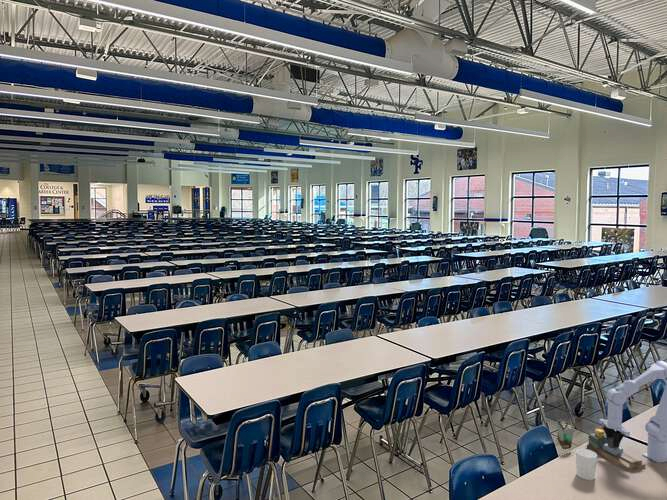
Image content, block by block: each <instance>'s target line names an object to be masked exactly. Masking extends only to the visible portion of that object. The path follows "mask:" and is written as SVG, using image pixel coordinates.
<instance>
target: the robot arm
mask: <svg viewBox="0 0 667 500" xmlns="http://www.w3.org/2000/svg"><path fill="white" fill-rule="evenodd" d="M654 379H655V380H656V379H658V380H663V382H665V386H664V389H663V392H662V396H661V397H660V400H659V402H658V403H659V404H658V407H657V408H656V411H655V415H653V416H651V417H650V418H649V420H648V421H647V423H645V426H644V427H645V428H644V429H645V431H646V433H647V449H646V450H647V452H644V453H642V456H644V457H646V458H648V459H650V460H652V461H654V462H656V463H657V464H658V463H659V464H661V463H665V462H666V463H667V362H666V361H664V360H658V361H655V363H653V364H651V365H650V368H648V369H647V370H645V371H644V372H643V373H641V374H640V375H639V376H637V377H636V378H635V379H627V380H624V381H623V382H622V383H621V384H620V385H618V386H615V388H610V389H609V390H607V392H606V393H605V398H607V418H606V419H604V418H600V419H599V424H600V425H604V426H603V427H602V430H604V432H605V434H606V437H607V441H608V437H614V447H620V445H621V442H622V440H623V438H625V437H629V436H631V431H629V430H628V429H626V428H625V427H624V426H622V423H623V408H624V407H623V405H624V404H625V403H626V402H627V399H628V398H629V397H630V396H633V395H634V394H636V393H637V392H639V389H640V387H642V386H643V385H645V384H647V383H649V382H652V381H653V380H654Z"/></svg>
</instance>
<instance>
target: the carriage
mask: <svg viewBox="0 0 667 500" xmlns="http://www.w3.org/2000/svg"><path fill="white" fill-rule="evenodd" d="M603 449H604V450H606V451H608V452H609V453H611V454H613V455H615V456H617V454H621V455H622V453H624V448H623V447H621V446H619V447H614V437H608V444H604V446H603Z"/></svg>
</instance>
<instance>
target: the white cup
mask: <svg viewBox="0 0 667 500" xmlns="http://www.w3.org/2000/svg"><path fill="white" fill-rule="evenodd" d="M597 459H598V454H597V453H595V452H593V451H592V450H590V449H588V448H578V449H576V450H575V464H576V468H575V469H576V475H577V476H578V477H579V478H580V479H582V480H587V481H592V480H594V479H595V478H596V477H595V476H596V471H597V464H598V463H597V462H598V461H597Z"/></svg>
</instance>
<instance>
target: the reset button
mask: <svg viewBox="0 0 667 500" xmlns="http://www.w3.org/2000/svg"><path fill="white" fill-rule="evenodd" d="M594 433H597V436H598V437H603V434H605V432H604V430H603V428H602V429H601V428H595V430H594Z"/></svg>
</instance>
